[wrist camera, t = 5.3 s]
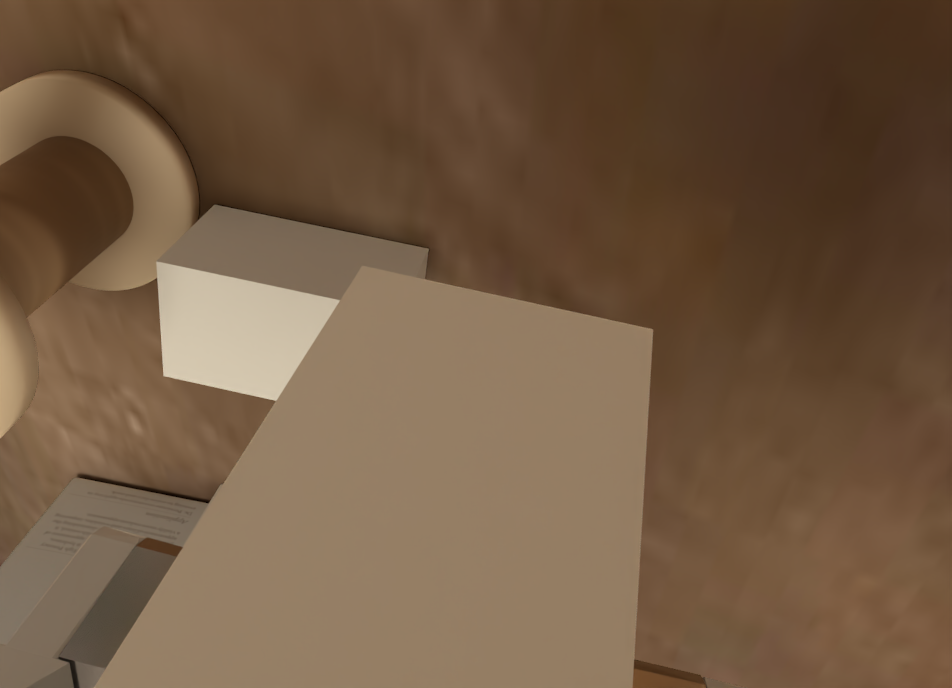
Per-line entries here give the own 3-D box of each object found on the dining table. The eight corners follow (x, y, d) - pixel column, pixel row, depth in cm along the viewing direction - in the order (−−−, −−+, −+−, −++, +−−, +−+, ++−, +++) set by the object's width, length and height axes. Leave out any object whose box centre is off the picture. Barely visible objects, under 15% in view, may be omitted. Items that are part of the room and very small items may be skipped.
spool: (196, 93, 27) (-13, 239, 19) (202, 295, 31) (32, 490, 22) (-26, 49, 27) (-326, 172, 19) (8, 253, 31) (-229, 429, 23)
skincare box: (88, 545, 39) (-113, 818, 29) (73, 466, 36) (-152, 734, 26) (226, 574, 38) (71, 862, 28) (221, 496, 36) (48, 780, 26)
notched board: (586, 281, 28) (576, 350, 25) (513, 587, 36) (498, 671, 32) (214, 204, 29) (156, 261, 25) (221, 520, 36) (177, 595, 33)
